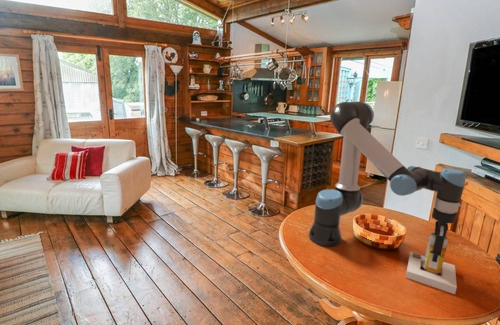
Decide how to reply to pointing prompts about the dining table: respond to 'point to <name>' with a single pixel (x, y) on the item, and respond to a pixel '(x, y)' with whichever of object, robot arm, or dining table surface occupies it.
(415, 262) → the socket plate
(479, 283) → the dining table surface
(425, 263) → the beer can
